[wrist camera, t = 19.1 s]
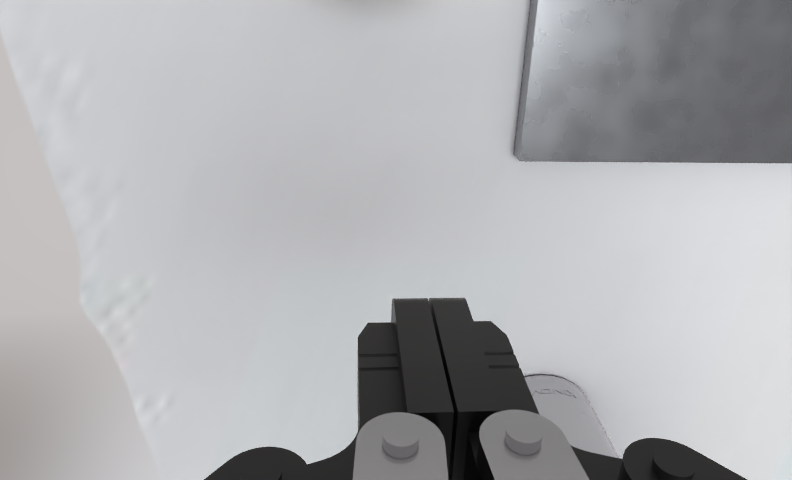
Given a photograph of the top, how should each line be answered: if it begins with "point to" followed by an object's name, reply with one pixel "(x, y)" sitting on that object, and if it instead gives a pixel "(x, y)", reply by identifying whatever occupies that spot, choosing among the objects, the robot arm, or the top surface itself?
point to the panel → (657, 81)
